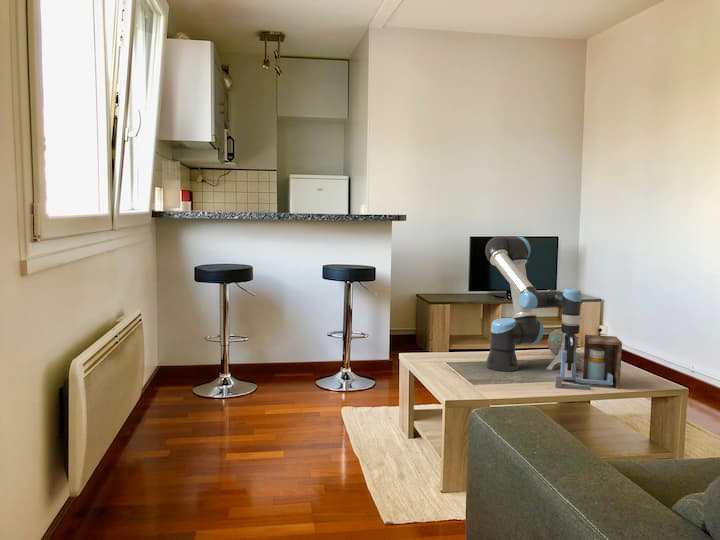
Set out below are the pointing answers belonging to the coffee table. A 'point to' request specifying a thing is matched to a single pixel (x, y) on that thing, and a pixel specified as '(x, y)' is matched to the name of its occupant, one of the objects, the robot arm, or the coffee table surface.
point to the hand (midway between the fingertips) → (567, 375)
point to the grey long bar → (569, 386)
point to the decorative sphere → (558, 341)
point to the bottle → (596, 364)
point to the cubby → (611, 355)
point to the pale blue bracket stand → (607, 377)
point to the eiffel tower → (558, 358)
